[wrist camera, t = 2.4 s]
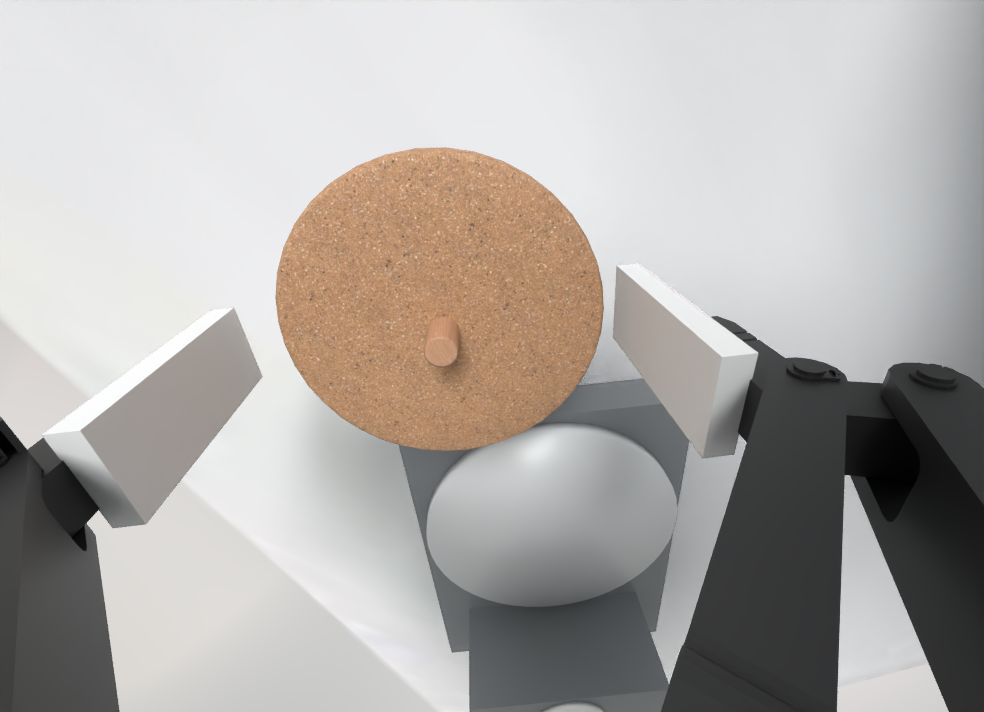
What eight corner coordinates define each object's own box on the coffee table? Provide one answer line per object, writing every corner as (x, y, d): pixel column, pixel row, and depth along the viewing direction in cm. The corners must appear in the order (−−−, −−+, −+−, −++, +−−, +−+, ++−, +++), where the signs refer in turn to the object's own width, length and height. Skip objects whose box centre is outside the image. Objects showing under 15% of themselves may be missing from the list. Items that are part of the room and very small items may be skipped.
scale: (675, 375, 25) (774, 494, 17) (644, 599, 35) (694, 736, 27) (401, 404, 25) (370, 536, 17) (452, 619, 35) (448, 762, 27)
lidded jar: (510, 92, 17) (548, 65, 9) (588, 311, 22) (657, 419, 14) (292, 204, 19) (159, 265, 11) (408, 384, 24) (378, 520, 16)
